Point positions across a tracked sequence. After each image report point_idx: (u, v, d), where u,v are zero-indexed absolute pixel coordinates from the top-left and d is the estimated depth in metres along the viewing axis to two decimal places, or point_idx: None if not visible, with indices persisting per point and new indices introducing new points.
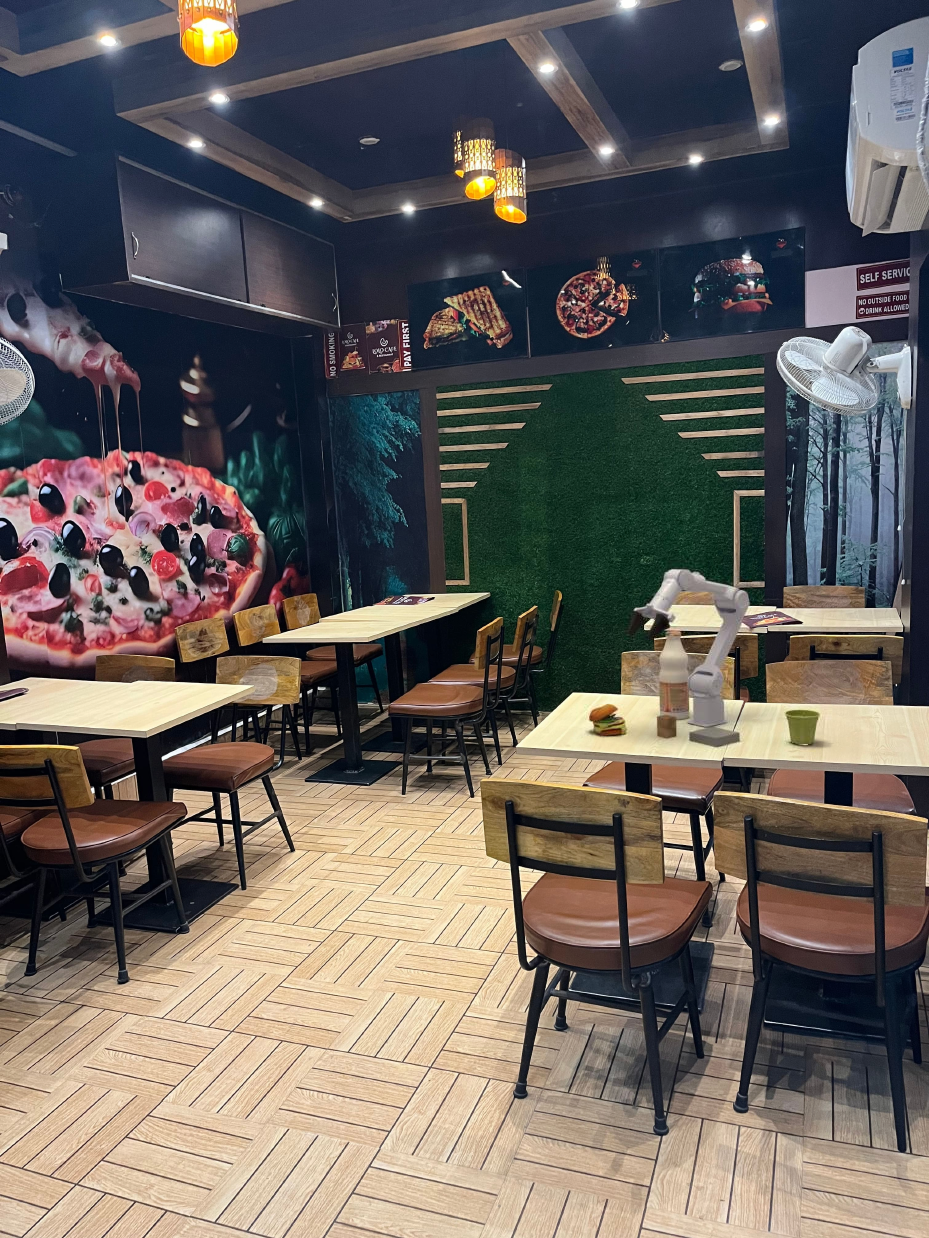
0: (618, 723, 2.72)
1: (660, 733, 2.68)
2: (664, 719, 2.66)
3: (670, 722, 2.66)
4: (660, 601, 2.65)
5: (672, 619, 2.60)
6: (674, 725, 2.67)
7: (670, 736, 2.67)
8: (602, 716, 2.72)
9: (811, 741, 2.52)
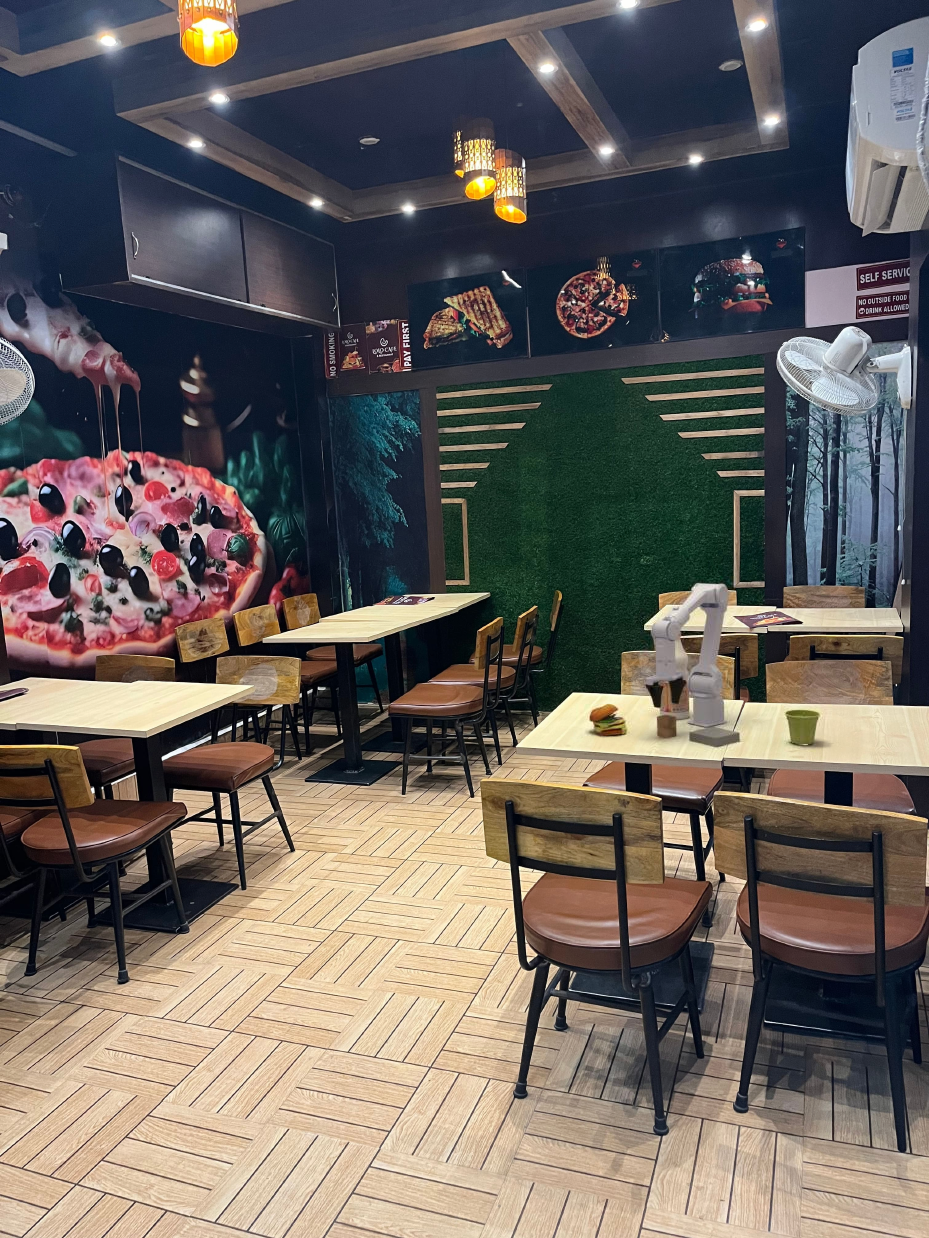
0: (618, 723, 2.72)
1: (660, 733, 2.68)
2: (664, 719, 2.66)
3: (670, 722, 2.66)
4: (675, 666, 2.65)
5: None
6: (674, 725, 2.67)
7: (670, 736, 2.67)
8: (602, 716, 2.72)
9: (811, 741, 2.52)
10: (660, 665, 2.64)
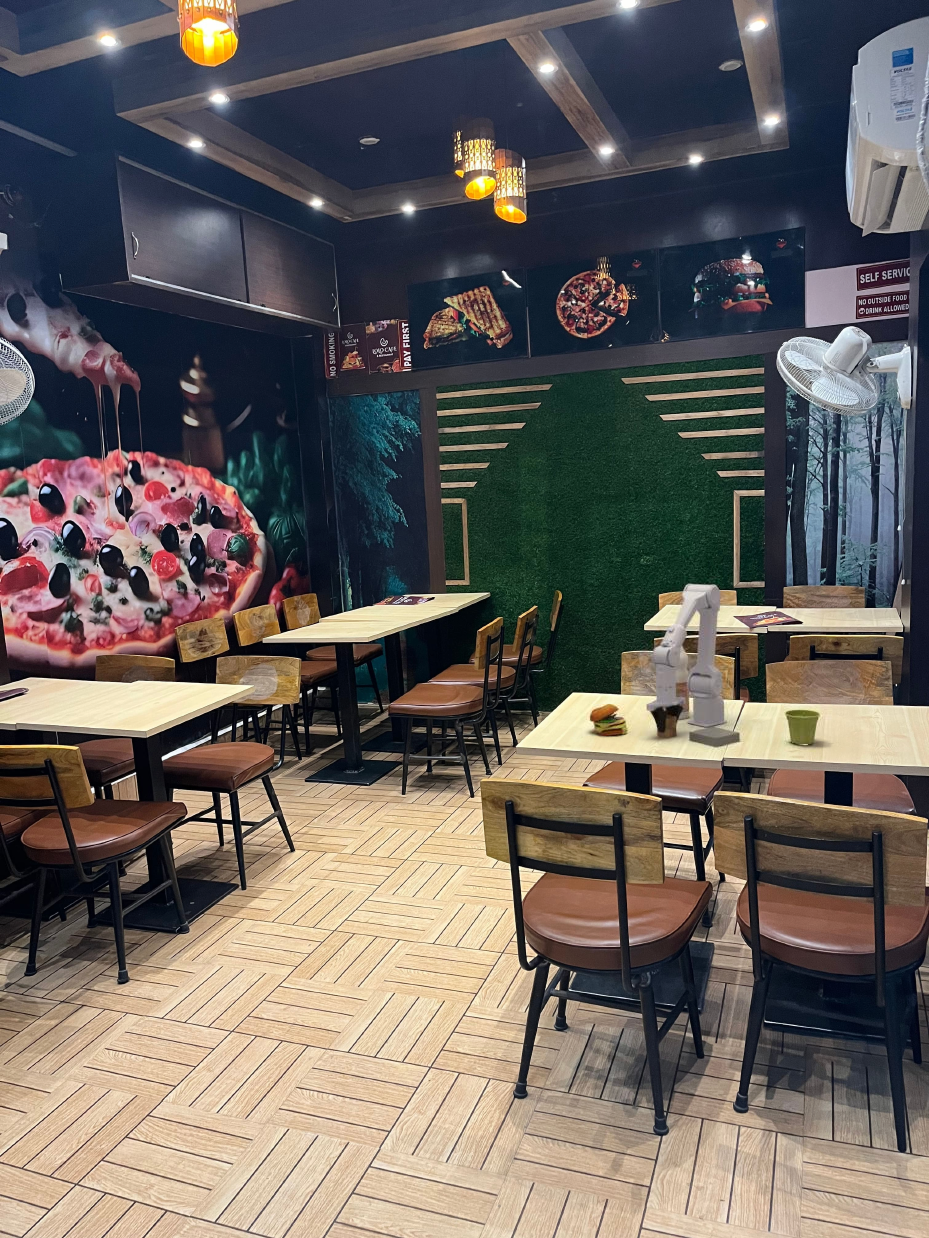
0: (619, 723, 2.72)
1: (660, 733, 2.68)
2: None
3: (670, 722, 2.66)
4: (675, 692, 2.66)
5: None
6: (674, 725, 2.67)
7: (670, 736, 2.67)
8: (603, 716, 2.72)
9: (811, 741, 2.52)
10: (660, 691, 2.65)
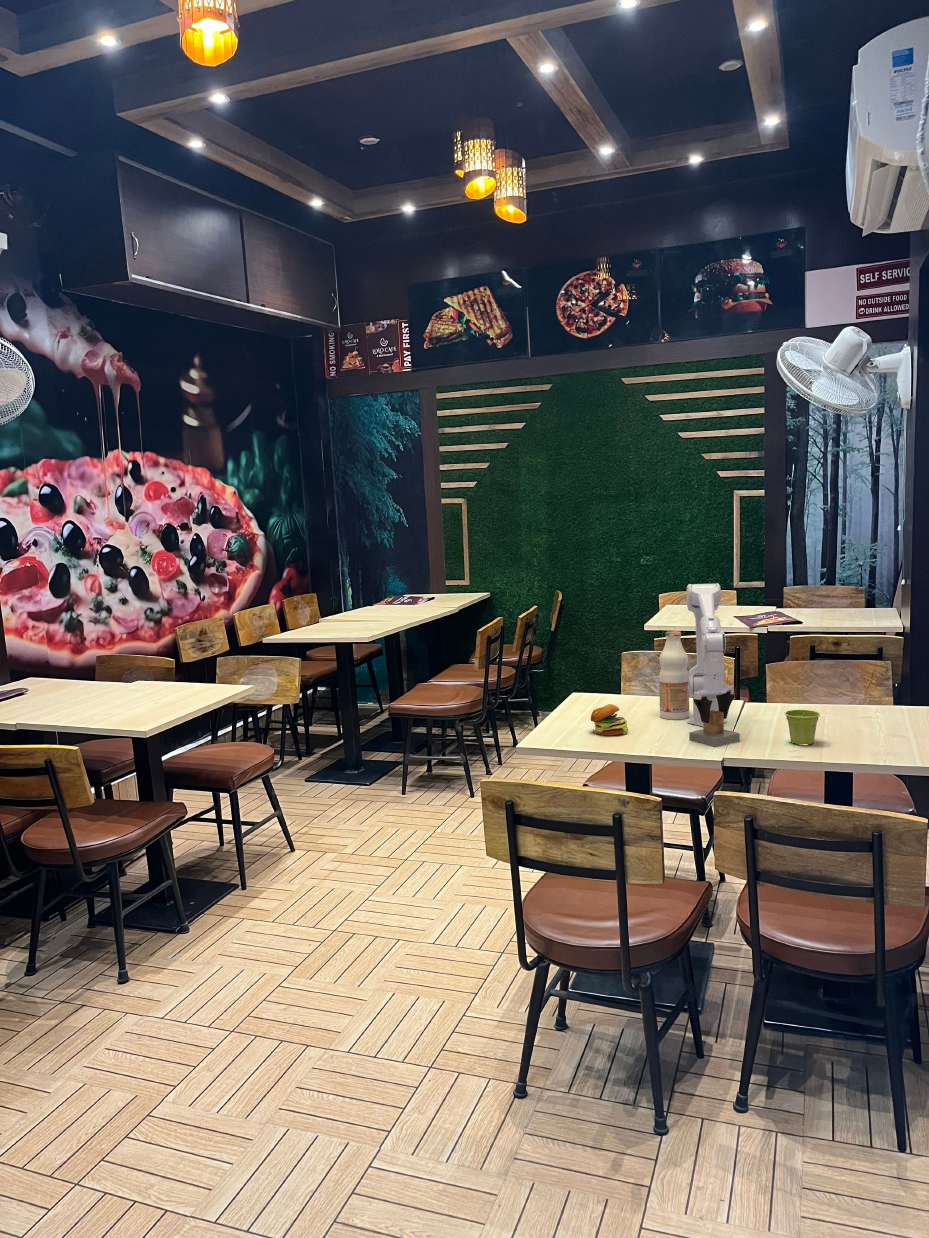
0: (620, 723, 2.71)
1: (706, 729, 2.61)
2: (711, 715, 2.59)
3: (717, 718, 2.59)
4: None
5: None
6: (721, 721, 2.60)
7: (717, 732, 2.59)
8: (603, 716, 2.71)
9: (811, 741, 2.52)
10: (708, 679, 2.57)
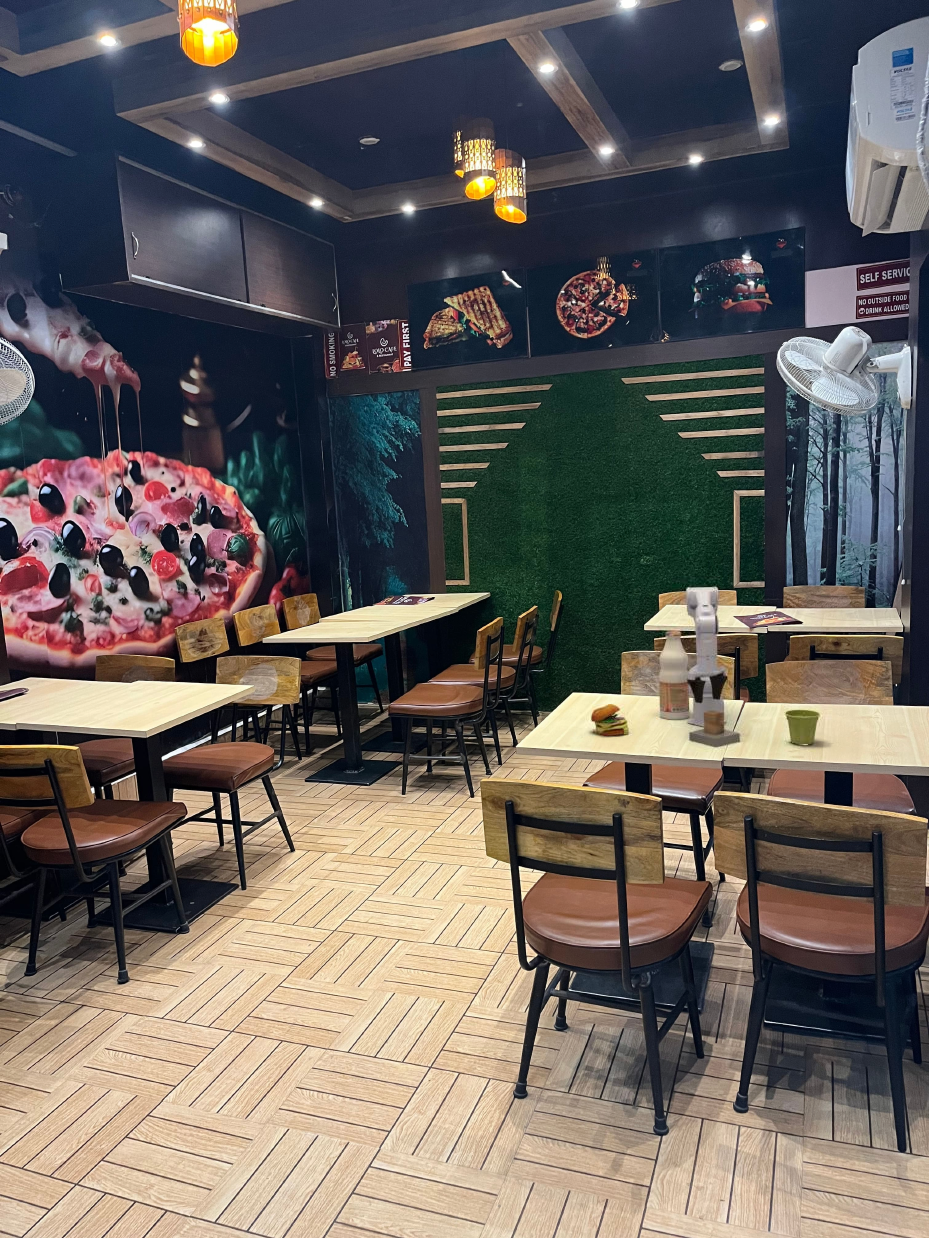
0: (620, 723, 2.71)
1: (707, 729, 2.60)
2: (712, 715, 2.58)
3: (718, 718, 2.58)
4: None
5: None
6: (722, 721, 2.60)
7: (718, 732, 2.59)
8: (604, 716, 2.71)
9: (811, 741, 2.52)
10: (702, 660, 2.63)
